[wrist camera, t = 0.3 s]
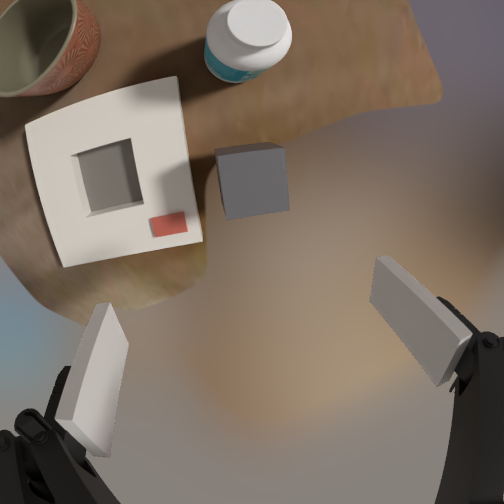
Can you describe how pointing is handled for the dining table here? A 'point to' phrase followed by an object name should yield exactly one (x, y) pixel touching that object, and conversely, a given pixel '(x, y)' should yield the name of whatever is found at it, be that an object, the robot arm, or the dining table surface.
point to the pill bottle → (246, 39)
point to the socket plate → (116, 173)
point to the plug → (252, 179)
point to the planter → (45, 46)
